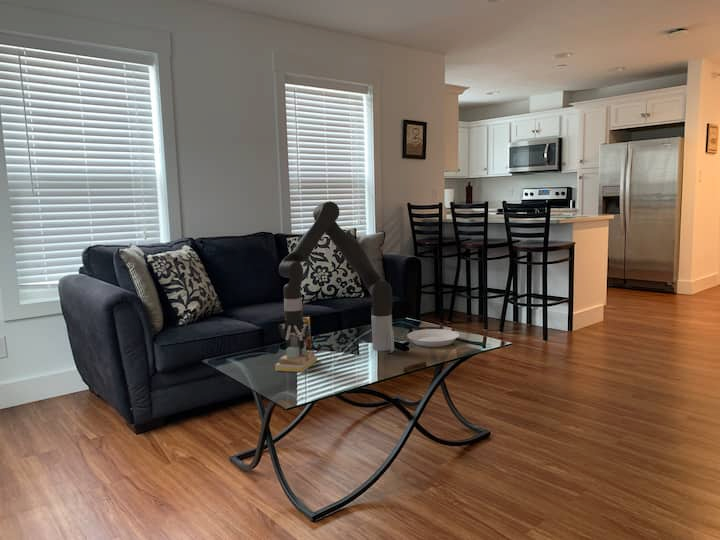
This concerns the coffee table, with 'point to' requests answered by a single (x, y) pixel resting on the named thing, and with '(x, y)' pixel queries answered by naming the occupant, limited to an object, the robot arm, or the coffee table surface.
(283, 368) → the block
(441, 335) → the white plate
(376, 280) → the robot arm
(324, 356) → the coffee table surface
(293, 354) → the block
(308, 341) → the candy box
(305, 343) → the block
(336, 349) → the coffee table surface
